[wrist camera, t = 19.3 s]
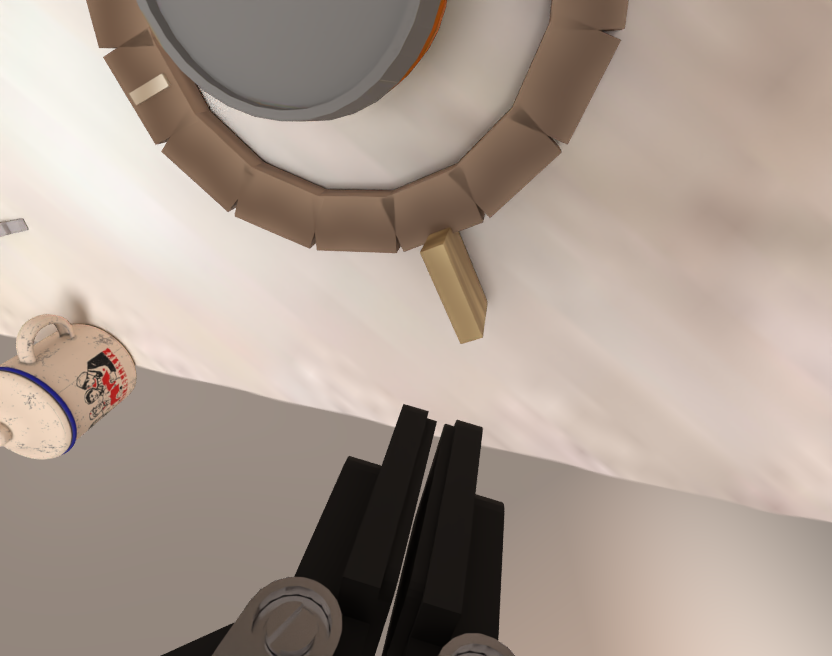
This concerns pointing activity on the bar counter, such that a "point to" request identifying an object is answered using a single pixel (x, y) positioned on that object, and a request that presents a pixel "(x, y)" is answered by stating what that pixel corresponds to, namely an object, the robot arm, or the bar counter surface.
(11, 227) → the caliper
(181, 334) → the bar counter surface
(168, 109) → the turning ring
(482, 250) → the bar counter surface
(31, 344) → the teacup with lid
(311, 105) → the reusable coffee cup
